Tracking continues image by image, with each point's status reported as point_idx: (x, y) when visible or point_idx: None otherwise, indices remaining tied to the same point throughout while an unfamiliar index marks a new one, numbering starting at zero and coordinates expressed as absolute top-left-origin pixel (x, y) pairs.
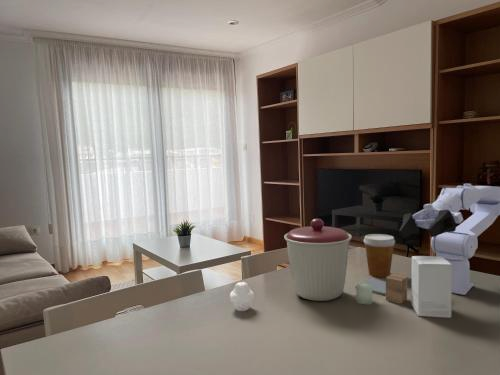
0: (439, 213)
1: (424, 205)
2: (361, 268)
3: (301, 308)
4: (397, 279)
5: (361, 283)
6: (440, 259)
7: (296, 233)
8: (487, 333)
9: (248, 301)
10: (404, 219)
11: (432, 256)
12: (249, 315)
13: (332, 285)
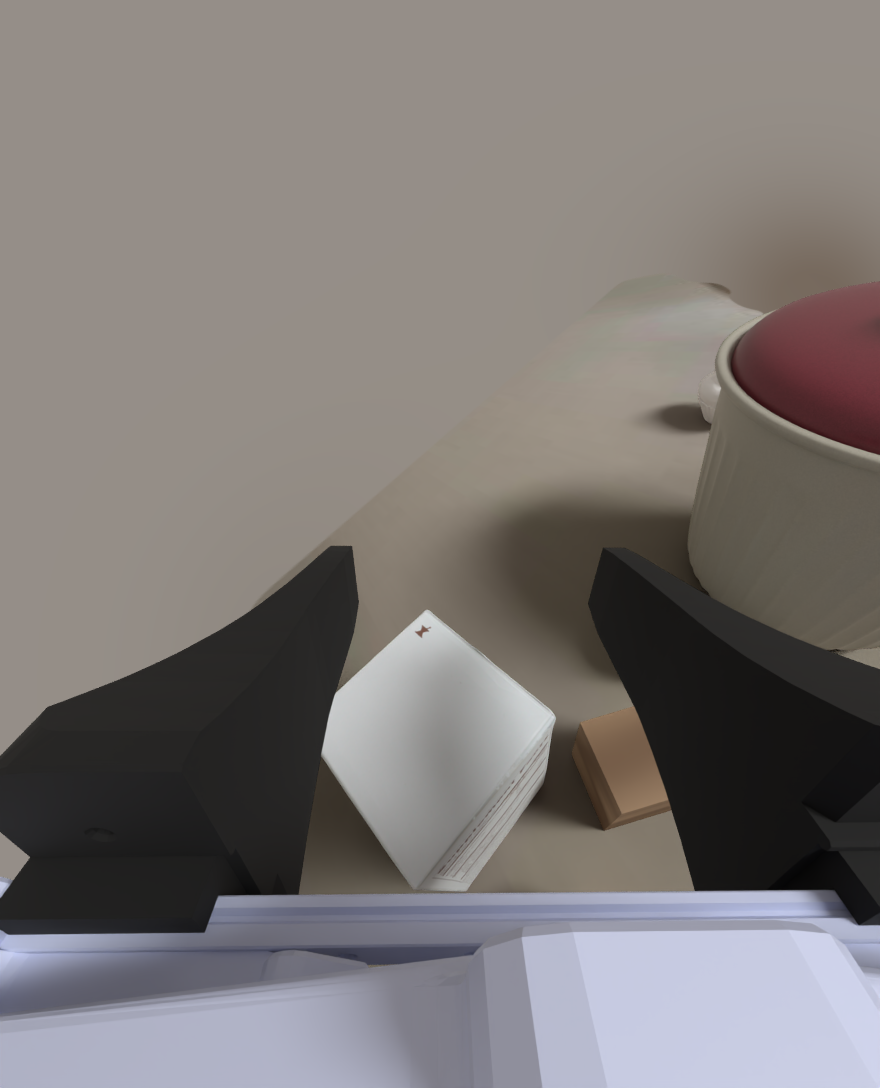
0: (218, 689)
1: (792, 928)
2: None
3: (672, 498)
4: (606, 725)
5: None
6: (381, 768)
7: None
8: None
9: (702, 400)
10: (819, 656)
11: (458, 812)
12: (674, 420)
13: (693, 529)
